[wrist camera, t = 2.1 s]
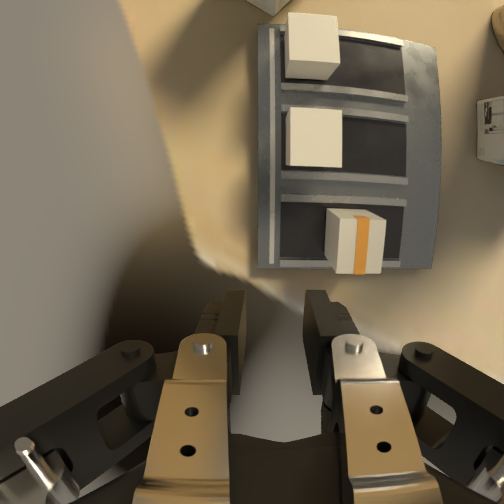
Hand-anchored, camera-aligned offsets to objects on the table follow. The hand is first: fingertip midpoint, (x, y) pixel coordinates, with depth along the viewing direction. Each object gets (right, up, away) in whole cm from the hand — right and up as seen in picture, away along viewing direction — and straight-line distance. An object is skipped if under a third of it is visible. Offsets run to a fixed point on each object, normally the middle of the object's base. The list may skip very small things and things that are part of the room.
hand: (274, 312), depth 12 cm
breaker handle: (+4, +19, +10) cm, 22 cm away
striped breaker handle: (+7, +4, +14) cm, 17 cm away
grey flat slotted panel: (+8, +12, +14) cm, 20 cm away
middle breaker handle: (+4, +11, +12) cm, 17 cm away
